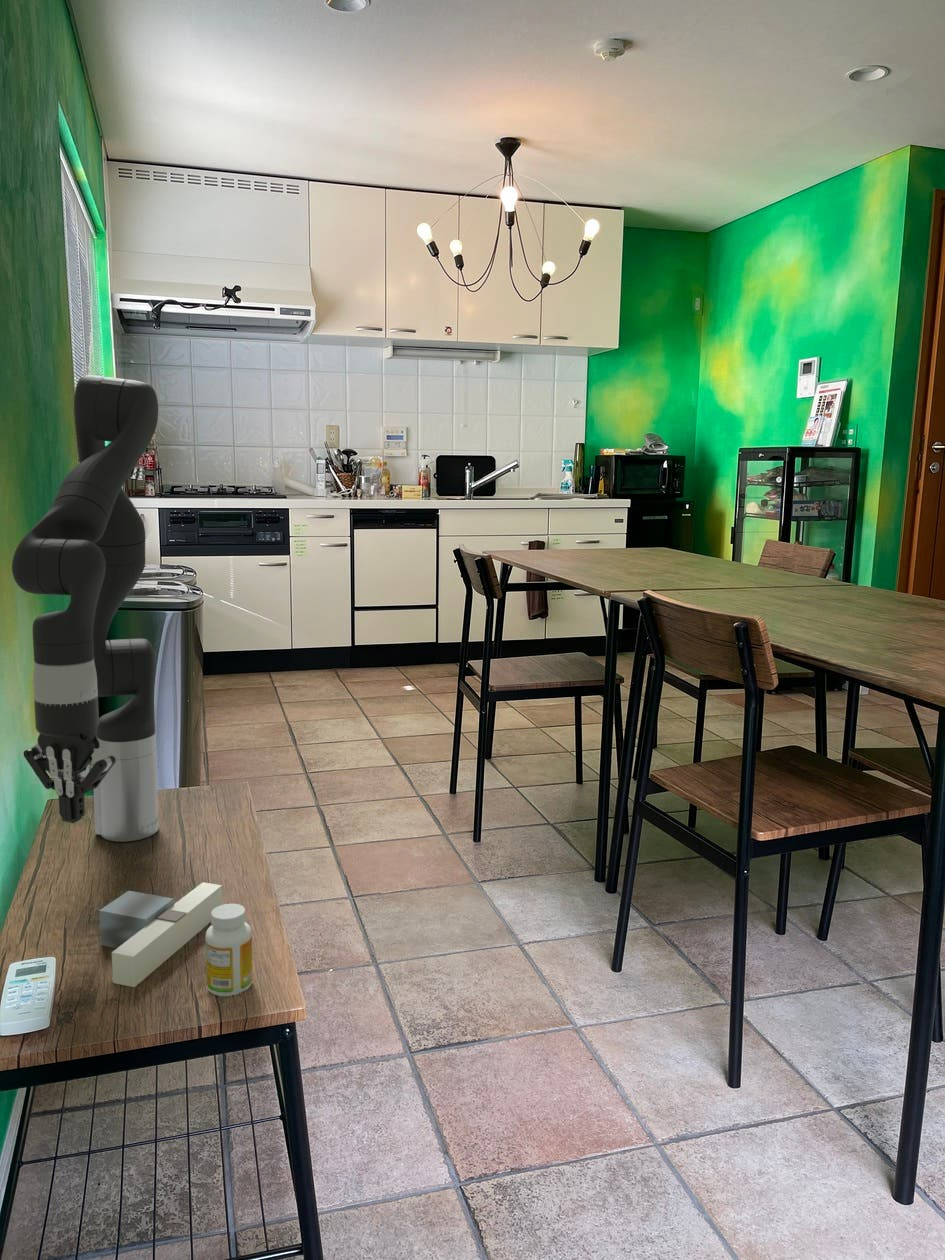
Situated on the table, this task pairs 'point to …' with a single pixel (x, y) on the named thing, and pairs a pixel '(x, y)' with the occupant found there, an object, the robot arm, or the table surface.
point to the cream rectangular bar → (164, 935)
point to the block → (129, 916)
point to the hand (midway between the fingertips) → (72, 820)
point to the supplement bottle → (228, 951)
